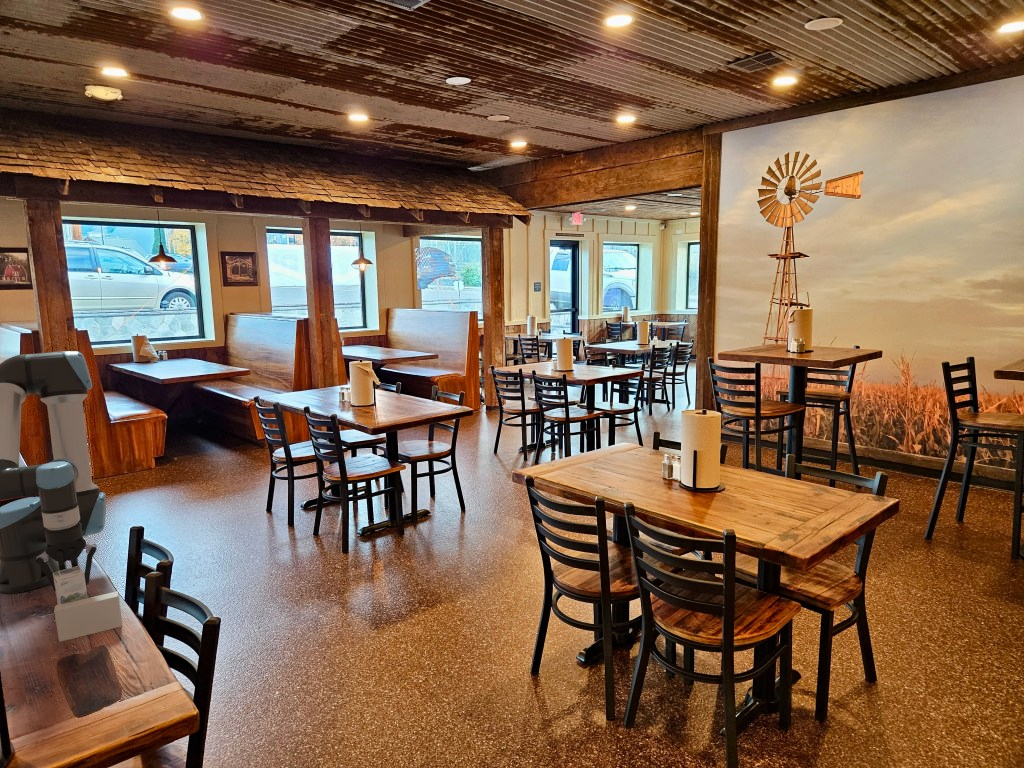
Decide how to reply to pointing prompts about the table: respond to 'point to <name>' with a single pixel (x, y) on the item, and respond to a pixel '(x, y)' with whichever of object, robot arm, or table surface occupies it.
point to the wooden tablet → (89, 681)
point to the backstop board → (88, 616)
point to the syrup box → (70, 585)
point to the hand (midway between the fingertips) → (76, 612)
